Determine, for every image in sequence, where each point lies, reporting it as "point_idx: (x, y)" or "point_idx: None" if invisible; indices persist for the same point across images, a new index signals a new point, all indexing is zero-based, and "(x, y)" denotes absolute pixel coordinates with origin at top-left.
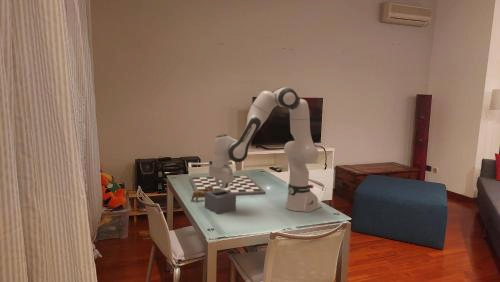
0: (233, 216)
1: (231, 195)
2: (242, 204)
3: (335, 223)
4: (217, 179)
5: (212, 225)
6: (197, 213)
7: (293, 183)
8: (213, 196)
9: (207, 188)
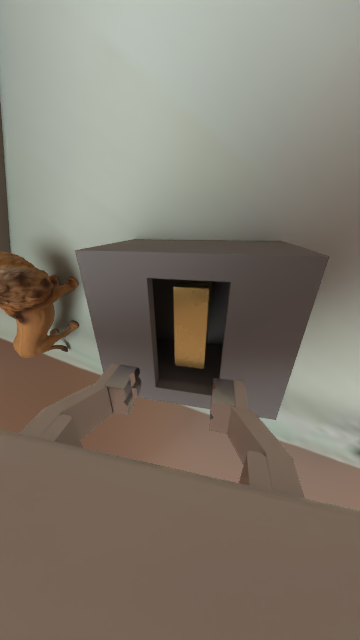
0: (348, 314)
1: (303, 308)
2: (215, 101)
3: None
4: (76, 446)
5: (345, 430)
6: None
7: None
8: None
9: (6, 307)
